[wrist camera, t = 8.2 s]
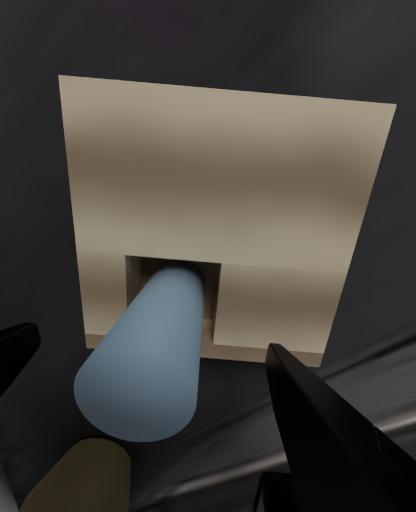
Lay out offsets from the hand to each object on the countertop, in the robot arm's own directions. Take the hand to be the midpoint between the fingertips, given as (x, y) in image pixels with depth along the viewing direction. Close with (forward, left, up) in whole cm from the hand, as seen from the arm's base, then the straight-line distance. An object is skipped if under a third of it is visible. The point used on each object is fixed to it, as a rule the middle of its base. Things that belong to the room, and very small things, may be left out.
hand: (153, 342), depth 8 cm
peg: (0, 0, -6) cm, 6 cm away
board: (+3, -2, -6) cm, 7 cm away
